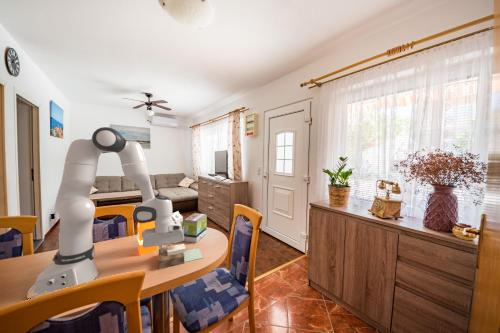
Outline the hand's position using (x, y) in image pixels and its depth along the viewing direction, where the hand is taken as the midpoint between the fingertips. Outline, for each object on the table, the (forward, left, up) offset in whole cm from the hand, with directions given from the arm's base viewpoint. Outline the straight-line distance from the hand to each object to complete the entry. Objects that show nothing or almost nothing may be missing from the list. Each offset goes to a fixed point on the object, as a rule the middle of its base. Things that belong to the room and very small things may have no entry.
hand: (164, 251), depth 102 cm
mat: (+14, 0, -5) cm, 15 cm away
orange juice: (-9, +16, -5) cm, 19 cm away
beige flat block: (+6, 0, -1) cm, 6 cm away
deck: (+3, 0, -5) cm, 6 cm away
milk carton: (+7, +23, -5) cm, 25 cm away
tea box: (+20, +22, -5) cm, 30 cm away
